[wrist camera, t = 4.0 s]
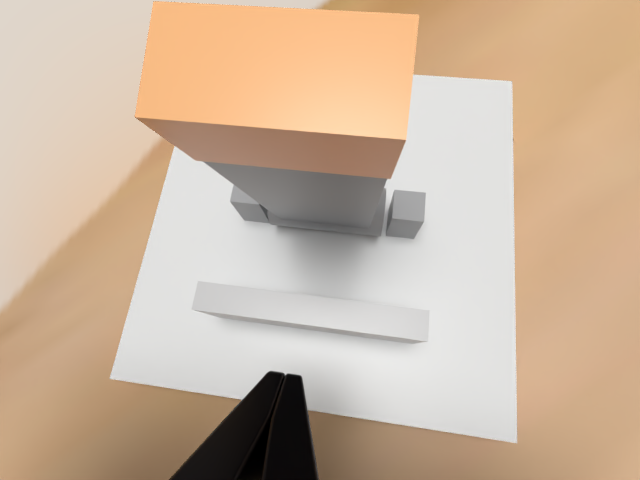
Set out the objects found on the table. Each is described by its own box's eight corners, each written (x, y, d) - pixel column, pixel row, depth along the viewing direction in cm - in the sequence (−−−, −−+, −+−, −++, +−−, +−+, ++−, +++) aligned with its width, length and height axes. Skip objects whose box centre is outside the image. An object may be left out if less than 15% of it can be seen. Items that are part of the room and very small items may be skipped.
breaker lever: (378, 238, 16) (440, 154, 5) (275, 227, 17) (102, 125, 5) (383, 193, 16) (455, 5, 5) (281, 183, 17) (125, -11, 5)
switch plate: (495, 432, 16) (563, 466, 11) (135, 376, 17) (55, 384, 12) (496, 107, 20) (543, 30, 15) (211, 86, 22) (173, 10, 17)
